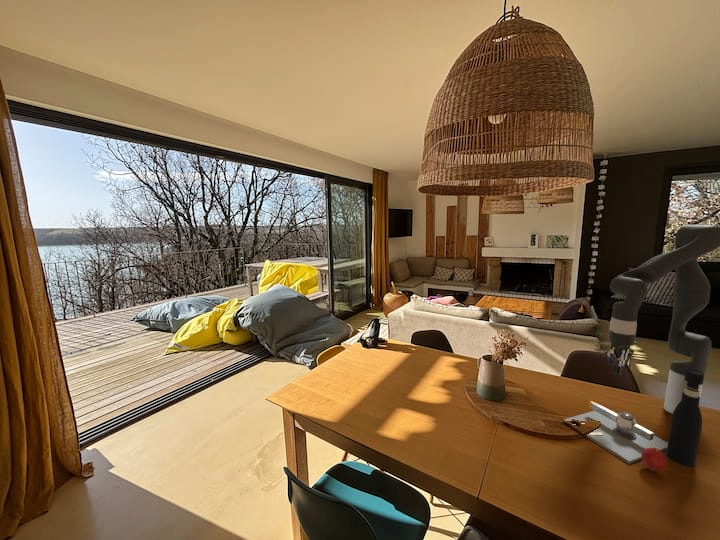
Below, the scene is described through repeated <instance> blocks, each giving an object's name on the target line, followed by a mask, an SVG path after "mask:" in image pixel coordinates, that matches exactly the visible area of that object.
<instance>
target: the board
mask: <svg viewBox="0 0 720 540" xmlns="http://www.w3.org/2000/svg"><path fill="white" fill-rule="evenodd" d="M572 419H575V420H579V421H594V420H596V421H600V422H601V426H600V427H599V428H598V429H596V430H594V431H593V432H591V433H589V434H587V436H585V437H586V438H588V439H589V440H591V441H593V442H594V443H595V444H597V445H599V446H600V447H602V448H603V449H604V450H606V451H608V452H609V453H611V454H612V455H614V456H616V457H617V458H619V459H621V460H622V461H623V462H625V463H626V464H629V465H631V464H633V463H636V462H638V461H641V460H642V456H641V455H642V452H643V451H644V450H645V449H647V448H654V447H657V448H658V449H659V450H660V451H661V452H662V453H663V452H665V451H667V448H668V441H665V440H663V439H662V438H660V437H658V436H656V435H654V437H653V440H650V441H649V440H647V439H645V438H644V437H642V436H640V435H638V434H636V433H634V437H632V438H629V437H625V436H622V435H620V434H619V433H617V432H616V422H614V421H612V420H611V419H609V418H607V417H605V416H603V415H601V414H600V413H598V412H596V411H594V410H592V411H588V412H585V413H581V414H578V415H574V416H570V417H567V418H563V420H565V421H571V420H572ZM563 420H562V421H563ZM581 424H585V423H581ZM572 425H576V424H572Z"/></svg>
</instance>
